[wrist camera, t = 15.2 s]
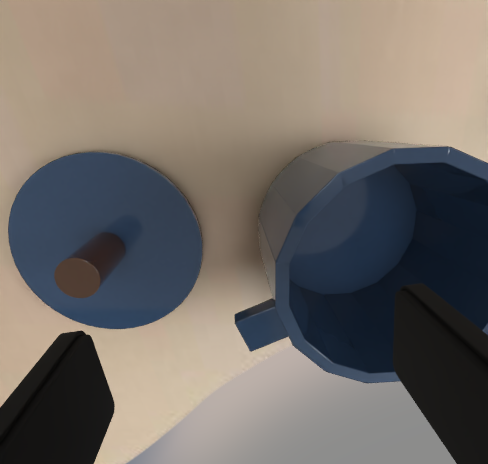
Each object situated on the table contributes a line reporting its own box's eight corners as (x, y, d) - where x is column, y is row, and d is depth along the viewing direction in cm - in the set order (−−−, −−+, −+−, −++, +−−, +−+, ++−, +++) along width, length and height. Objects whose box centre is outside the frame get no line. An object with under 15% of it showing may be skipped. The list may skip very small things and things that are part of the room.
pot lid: (-24, 201, 25) (-108, 224, 19) (146, 116, 24) (117, 111, 18) (85, 345, 30) (47, 402, 24) (232, 281, 29) (233, 324, 22)
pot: (202, 199, 26) (185, 241, 16) (428, 94, 24) (566, 70, 15) (268, 330, 31) (287, 427, 21) (464, 250, 29) (589, 313, 19)
